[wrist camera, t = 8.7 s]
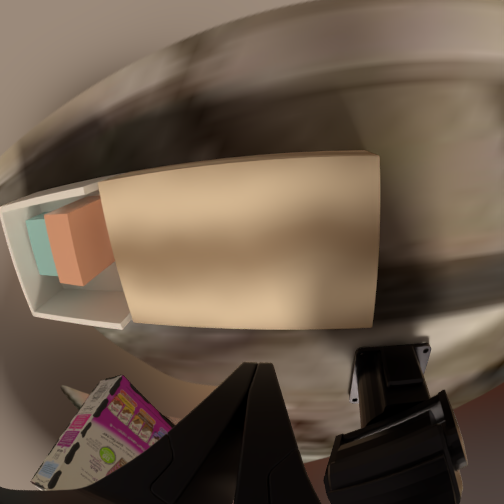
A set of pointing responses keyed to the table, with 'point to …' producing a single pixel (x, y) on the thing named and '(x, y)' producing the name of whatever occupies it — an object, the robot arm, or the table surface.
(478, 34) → the table surface
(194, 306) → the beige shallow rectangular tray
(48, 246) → the mint green block
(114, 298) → the box
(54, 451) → the candy bar box
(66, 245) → the terracotta block
